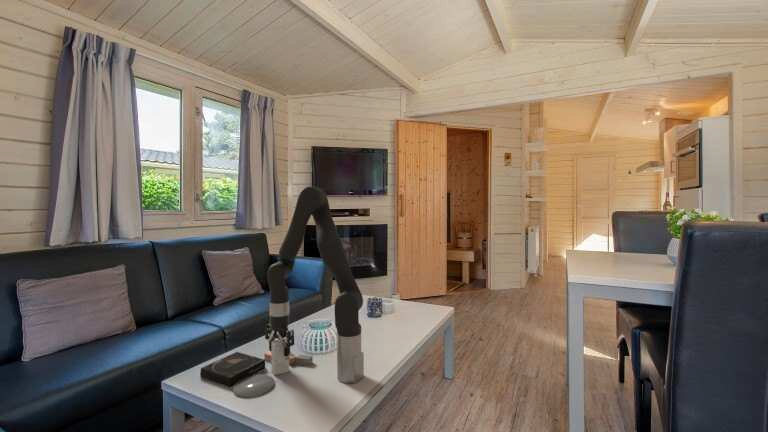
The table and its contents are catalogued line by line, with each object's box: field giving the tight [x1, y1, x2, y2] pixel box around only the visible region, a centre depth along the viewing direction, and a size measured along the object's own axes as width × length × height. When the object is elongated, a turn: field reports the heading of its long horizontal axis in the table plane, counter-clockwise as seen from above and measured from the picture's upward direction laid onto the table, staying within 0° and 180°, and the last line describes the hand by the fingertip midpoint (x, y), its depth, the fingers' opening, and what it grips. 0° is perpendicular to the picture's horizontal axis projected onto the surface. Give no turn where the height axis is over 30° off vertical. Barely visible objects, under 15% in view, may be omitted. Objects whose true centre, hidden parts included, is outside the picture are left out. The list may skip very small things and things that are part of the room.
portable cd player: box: [199, 351, 266, 388], centre depth 137 cm, size 16×17×4 cm
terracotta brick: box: [263, 351, 271, 363], centre depth 148 cm, size 6×3×3 cm, turn 57°
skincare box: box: [270, 339, 290, 376], centre depth 138 cm, size 6×4×12 cm
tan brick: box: [289, 351, 297, 366], centre depth 147 cm, size 6×3×3 cm, turn 37°
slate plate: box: [232, 374, 275, 398], centre depth 127 cm, size 14×14×1 cm
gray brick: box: [295, 354, 314, 367], centre depth 145 cm, size 6×3×3 cm, turn 75°
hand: (279, 353), depth 138 cm, fingers open, 8 cm apart
